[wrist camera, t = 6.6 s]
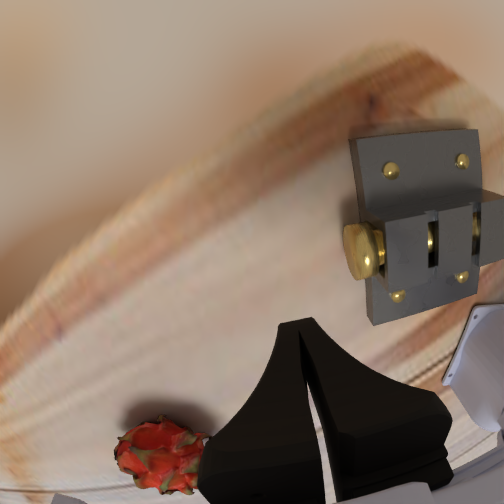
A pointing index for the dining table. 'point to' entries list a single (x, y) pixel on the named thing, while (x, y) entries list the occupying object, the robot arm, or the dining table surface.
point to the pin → (375, 247)
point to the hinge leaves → (425, 218)
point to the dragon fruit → (161, 456)
